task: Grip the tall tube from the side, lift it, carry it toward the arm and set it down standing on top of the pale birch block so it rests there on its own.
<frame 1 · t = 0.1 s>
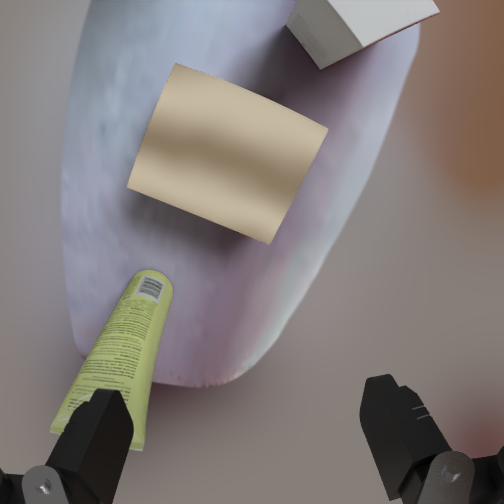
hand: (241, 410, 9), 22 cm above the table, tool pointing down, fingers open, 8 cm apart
tube: (150, 287, 33), on the table
birch block: (227, 146, 27), on the table
small box: (335, 29, 22), on the table
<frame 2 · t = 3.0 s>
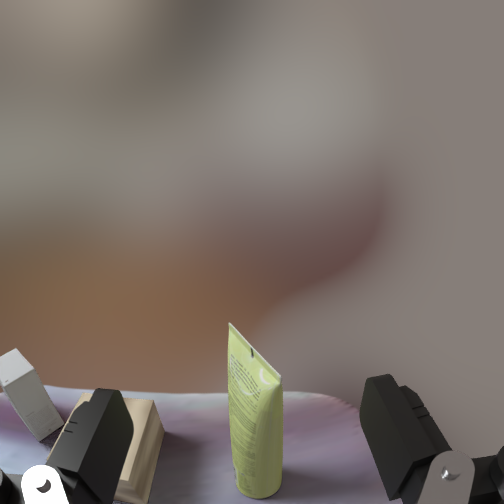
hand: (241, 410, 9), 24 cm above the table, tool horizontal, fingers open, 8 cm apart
tube: (259, 484, 27), on the table
birch block: (118, 460, 28), on the table
small box: (41, 421, 32), on the table
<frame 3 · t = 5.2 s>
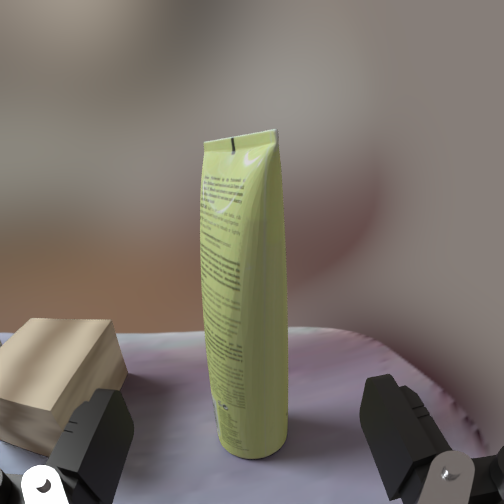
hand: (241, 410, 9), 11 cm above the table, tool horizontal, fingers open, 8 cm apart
tube: (254, 438, 19), on the table
birch block: (62, 407, 21), on the table
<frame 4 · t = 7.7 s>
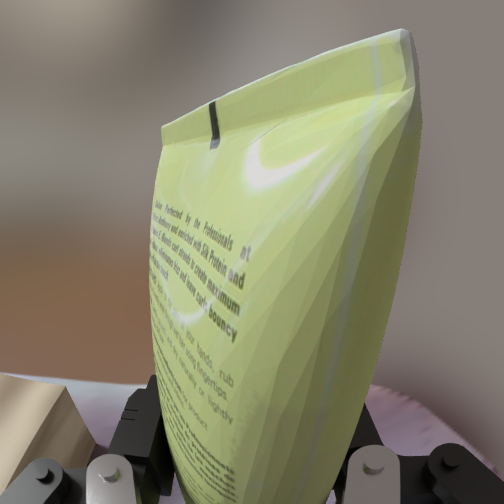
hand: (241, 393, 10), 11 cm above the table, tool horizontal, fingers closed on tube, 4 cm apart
birch block: (20, 482, 12), on the table
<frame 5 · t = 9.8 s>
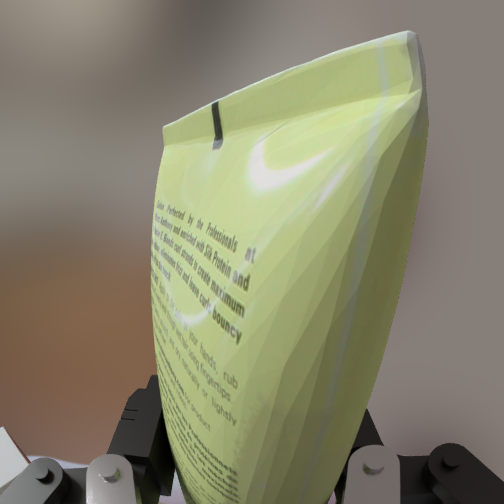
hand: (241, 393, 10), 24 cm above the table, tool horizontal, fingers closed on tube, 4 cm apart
when the fingers open (18 cm above the table, at t = 12.1 s): tube stays where it is, resting on birch block.
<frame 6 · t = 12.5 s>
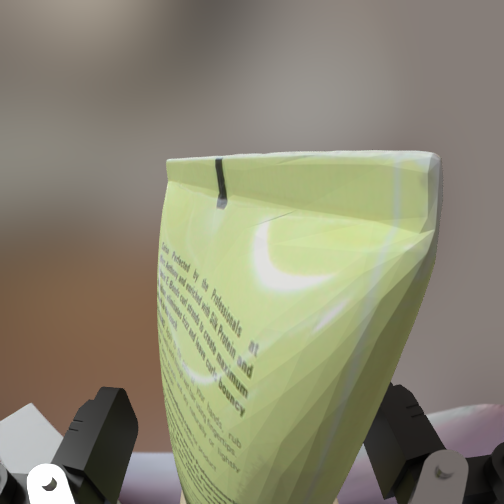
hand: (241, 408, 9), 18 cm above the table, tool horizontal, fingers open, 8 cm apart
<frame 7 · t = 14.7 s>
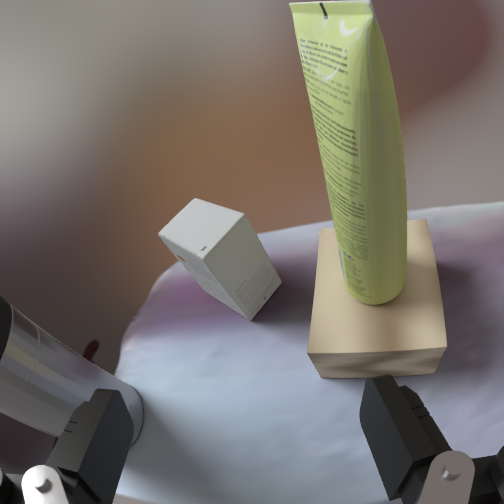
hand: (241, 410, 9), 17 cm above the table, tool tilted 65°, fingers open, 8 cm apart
tube: (376, 282, 23), point 6 cm above the table, touching birch block
birch block: (379, 315, 27), on the table
small box: (242, 289, 35), on the table
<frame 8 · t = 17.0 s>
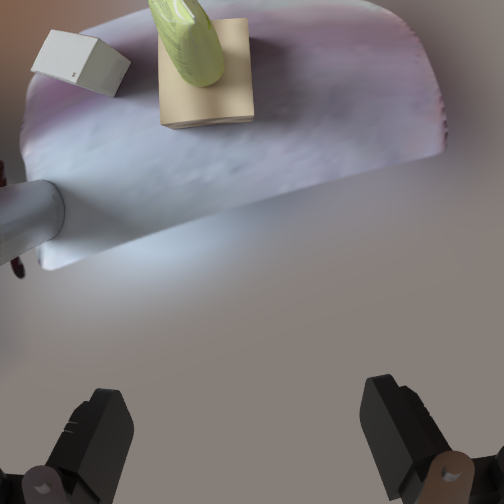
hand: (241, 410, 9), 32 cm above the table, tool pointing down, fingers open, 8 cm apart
tube: (203, 69, 29), point 6 cm above the table, touching birch block
birch block: (209, 80, 34), on the table
small box: (101, 73, 33), on the table
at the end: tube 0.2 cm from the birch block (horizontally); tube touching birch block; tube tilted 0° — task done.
